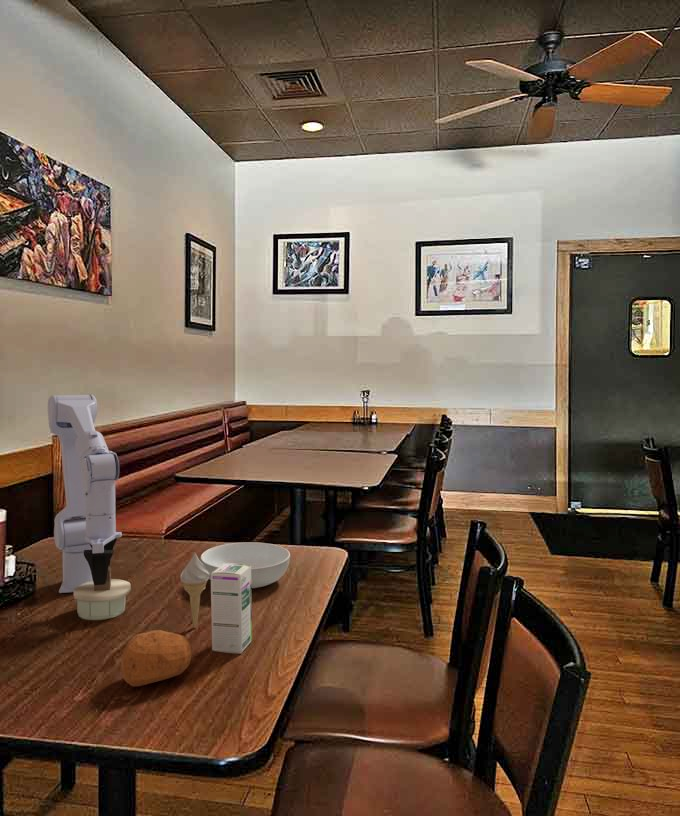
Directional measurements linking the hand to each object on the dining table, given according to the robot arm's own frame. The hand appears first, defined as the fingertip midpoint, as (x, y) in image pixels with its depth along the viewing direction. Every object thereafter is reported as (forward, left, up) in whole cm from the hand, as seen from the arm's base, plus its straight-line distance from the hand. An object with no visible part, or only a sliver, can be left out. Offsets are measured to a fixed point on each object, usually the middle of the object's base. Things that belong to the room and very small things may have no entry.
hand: (101, 578), depth 132 cm
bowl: (0, 0, -7) cm, 7 cm away
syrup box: (+23, +24, -7) cm, 34 cm away
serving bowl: (-11, +31, -7) cm, 34 cm away
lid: (0, 0, -3) cm, 3 cm away
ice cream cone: (+13, +18, -7) cm, 23 cm away
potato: (+32, +11, -7) cm, 35 cm away
